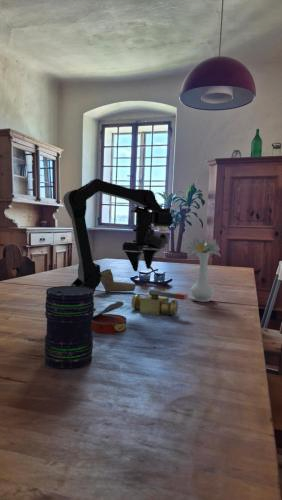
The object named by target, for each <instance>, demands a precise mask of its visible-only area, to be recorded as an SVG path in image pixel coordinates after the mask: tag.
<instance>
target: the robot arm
mask: <svg viewBox="0 0 282 500" xmlns="http://www.w3.org/2000/svg"><path fill="white" fill-rule="evenodd" d="M98 193H99V194H102V195H106V196H107V195H108V196H111V197H114V198H118V199H122V200H125V201H127V202H128V203H130V204H132V205H134V207H133V208H132V209H130V213H131V214H132V213H133V214H135V228H132V232H134V233H135V239H133V240H132V241H124V242H123V243H122V245H121V246H122V247H121V249H122V251H124V253H125V254H126V256H127V258H128V260H129V262H130V265H131V268H132V269H133V271H134V272H138V269H139V265H140V264H139V263H140V257H141V255H142V254H143V258H144V264H145V267H146V269H147V270H150V269H151V267H152V263H153V260H154V257H155V255H156V254H158V252H160V251H161V250H162V249H164V248H165V246H166V244H168V243H169V241H168V235H167V234H165V233H160V235H159V234H155V229H153V227H158V228H159V227H161V228H170V227H171V226H172V223H173V220H174V217H173V214H172V213H171V208H168V207H167V208H165V207H164V208H162V207H161V205H160V204H159V202H158V200H157V199H156V196H155V192H154V191H153V190H151V189H142V188H141V189H140V188H138V189H137V188H130V187H126V186H123V185H120V184H119V185H118V184H115V183H112V182H108V181H105V180H102V179H100V178H94V179H92V180H90V181H89V182H86V184H84V185H82V186H81V187H79V188H78V189H73V190H70V191H67V192H65V194H64V195H63V197H62V200H63V201H62V202H63V204H64V207H65V210H66V212H67V214H68V216H69V218H70V220H71V225H72V230H73V235H74V241H75V246H76V247H75V248H76V251H77V257H78V266H77V267H78V268H77V278H76V279H75V280H74V281H72V283H71V284H70V286H83V287H89V288H92V289H94V293H95V291H96V289H97V288H98V287H99V285H100V283H101V278H100V277H102V275H101V273H100V272H101V265H100V264H97V263H95V262H94V260H93V255H92V250H91V243H90V239H89V238H90V237H89V233H88V228H87V222H86V213H87V200H89V199H90V198H92V197H93V196H94V195H95V194H98ZM96 310H97V309H96V308H95V307H94V308H93V312H94V311H96Z"/></svg>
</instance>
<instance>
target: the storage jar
mask: <svg viewBox="0 0 282 500" xmlns="http://www.w3.org/2000/svg"><path fill="white" fill-rule="evenodd" d="M94 294H95V292H94V289H92V288H89V287H83V286H71V285H58V286H52V287H49V288H47V289H46V291H45V295H46V296H45V301H46V302H45V303H44V304H45V305H44V308H45V313H44V315H45V319H46V333H45V336H44V352H45V353H44V357H45V358H44V363H45V366H47V367H48V368H50V369H52V370H58V371H73V370H74V371H75V370H79V369H83V368H85V367H88V366H90V365H91V363H92V361H93V357H92V355H93V349H94V342H93V341H94V335H93V333H92V332H93V331H92V317H93V316H94V314H95V312H94V311H93V308H95V299H94Z"/></svg>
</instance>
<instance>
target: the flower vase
mask: <svg viewBox="0 0 282 500" xmlns="http://www.w3.org/2000/svg"><path fill="white" fill-rule="evenodd" d="M219 246H220V245H219V244H218V243H217V241H216V238H214V239H213V240H212V241H211V239H210V238H206V237H205V238H201V239H198V238H195V237H194V238H193V239H192V238H191V241H190V245H188V246H187V250H189V251H188V253H187V256H186V258H188V257H189V256H190V255H191V254H195V255H196V258H198V259H199V269H198V277H197V280H196V282H195V283H194V285H192V286H191V288H190V294H191V296H192V297H193V300H194V301H195V302H200V303H201V302H202V303H206V302H209V301H211V300H210V299H211V298H213V296H214V295H215V290H214V288H213V287H212V285H211V284H210V282H209V279H208V263H209V262H208V261H209V259H210V255H211V254H213V255H216V256H217V255H218V256H219V257H220V258H221V254H220V252H219V251H221V249H220V247H219Z"/></svg>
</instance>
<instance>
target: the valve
mask: <svg viewBox="0 0 282 500" xmlns="http://www.w3.org/2000/svg"><path fill="white" fill-rule="evenodd" d="M169 299H170V297H163V296H151V295H149V294H147V295H145V296H141V295H140V294H134V295H133V296H132V298H131V303H130V304H131V309H133V310H139V313H140V314H146V315H151V316H152V315H153V316H157V317H160V316H163V315H167V316H172V317H175V316H176V315H177V313H178V310H179V302H178V300H177V299H175V300H174V299H172V300H171V301H170V302H169Z"/></svg>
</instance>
